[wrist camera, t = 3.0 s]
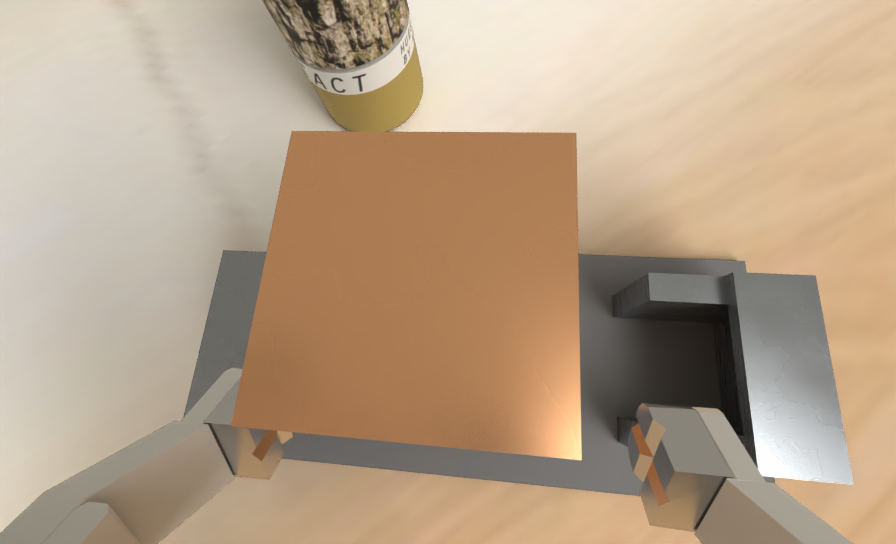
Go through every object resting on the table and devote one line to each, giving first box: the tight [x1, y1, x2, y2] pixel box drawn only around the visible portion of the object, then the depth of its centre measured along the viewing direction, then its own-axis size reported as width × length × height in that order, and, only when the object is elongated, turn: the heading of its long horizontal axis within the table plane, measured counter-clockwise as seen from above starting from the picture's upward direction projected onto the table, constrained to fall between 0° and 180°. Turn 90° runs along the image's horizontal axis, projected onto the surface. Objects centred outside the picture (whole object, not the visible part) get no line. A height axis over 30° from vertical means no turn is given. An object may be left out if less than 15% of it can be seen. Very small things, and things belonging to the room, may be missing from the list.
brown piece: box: [231, 131, 582, 460], centre depth 13 cm, size 15×4×17 cm, turn 86°
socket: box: [612, 272, 854, 485], centre depth 17 cm, size 6×7×5 cm
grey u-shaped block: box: [183, 250, 267, 418], centre depth 19 cm, size 9×7×5 cm
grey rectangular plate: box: [282, 254, 775, 496], centre depth 21 cm, size 27×12×1 cm, turn 86°
